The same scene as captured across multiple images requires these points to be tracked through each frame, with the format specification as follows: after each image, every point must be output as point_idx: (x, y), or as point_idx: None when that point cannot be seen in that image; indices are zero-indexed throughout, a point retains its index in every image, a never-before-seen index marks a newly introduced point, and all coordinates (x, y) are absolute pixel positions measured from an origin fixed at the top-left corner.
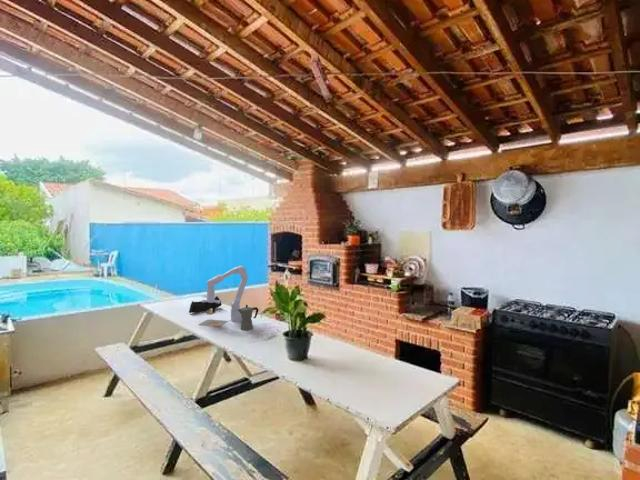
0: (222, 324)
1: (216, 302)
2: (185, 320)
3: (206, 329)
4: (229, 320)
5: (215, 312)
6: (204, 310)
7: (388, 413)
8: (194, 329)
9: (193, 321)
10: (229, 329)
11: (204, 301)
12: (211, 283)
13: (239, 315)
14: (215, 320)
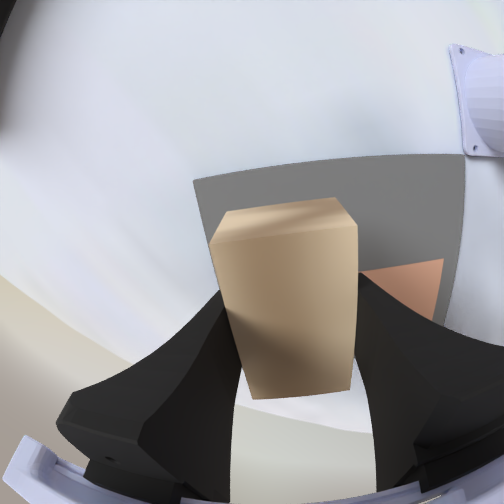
0: (450, 281)
1: (500, 465)
2: (52, 279)
3: (364, 394)
4: (469, 143)
5: (336, 201)
6: (6, 9)
7: None
8: (285, 414)
9: (114, 283)
10: (497, 332)
11: (81, 493)
12: None
13: None
14: (318, 181)
